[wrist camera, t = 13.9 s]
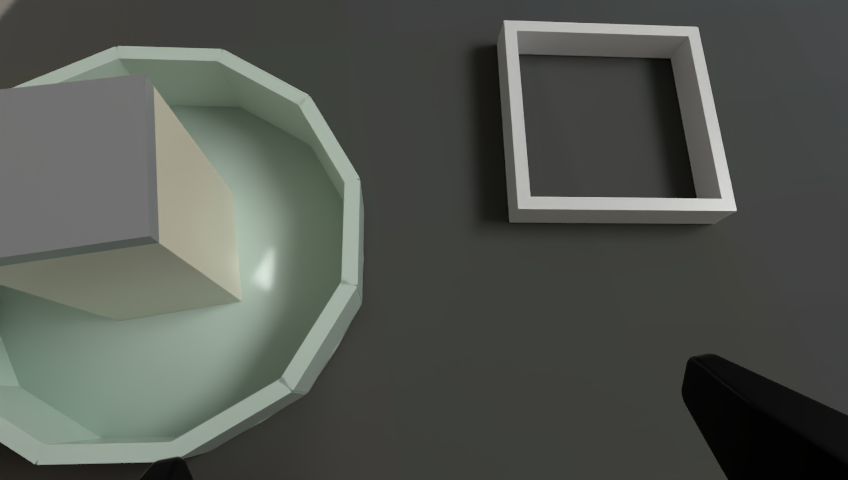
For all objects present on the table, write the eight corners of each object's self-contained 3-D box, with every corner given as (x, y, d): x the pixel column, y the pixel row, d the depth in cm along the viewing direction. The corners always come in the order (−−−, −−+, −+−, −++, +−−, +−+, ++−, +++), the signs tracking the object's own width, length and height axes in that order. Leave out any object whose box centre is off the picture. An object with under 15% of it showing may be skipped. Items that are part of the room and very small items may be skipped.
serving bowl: (360, 447, 21) (353, 457, 17) (-51, 456, 20) (-161, 469, 16) (366, 107, 26) (362, 53, 22) (35, 100, 25) (-34, 41, 21)
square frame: (713, 223, 26) (736, 210, 24) (509, 222, 25) (518, 208, 23) (679, 49, 29) (697, 27, 27) (496, 43, 28) (504, 20, 26)
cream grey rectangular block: (241, 301, 22) (149, 236, 14) (118, 321, 22) (-60, 266, 13) (233, 193, 24) (144, 73, 15) (117, 209, 23) (-43, 94, 14)
